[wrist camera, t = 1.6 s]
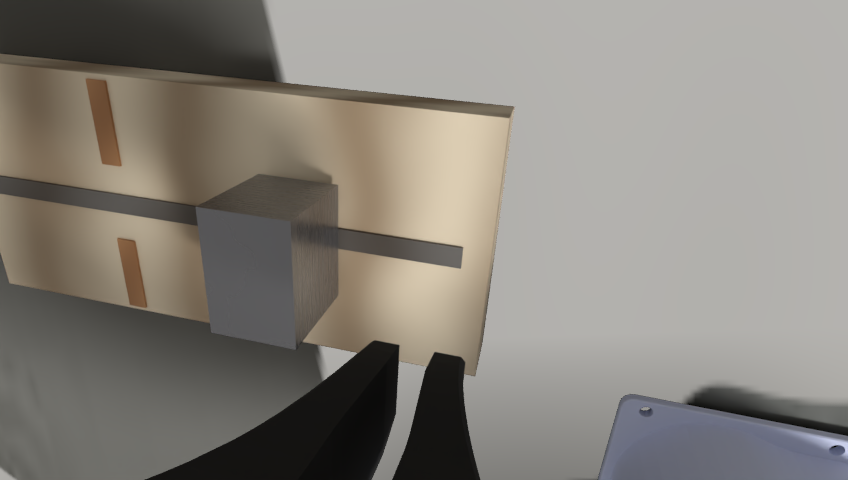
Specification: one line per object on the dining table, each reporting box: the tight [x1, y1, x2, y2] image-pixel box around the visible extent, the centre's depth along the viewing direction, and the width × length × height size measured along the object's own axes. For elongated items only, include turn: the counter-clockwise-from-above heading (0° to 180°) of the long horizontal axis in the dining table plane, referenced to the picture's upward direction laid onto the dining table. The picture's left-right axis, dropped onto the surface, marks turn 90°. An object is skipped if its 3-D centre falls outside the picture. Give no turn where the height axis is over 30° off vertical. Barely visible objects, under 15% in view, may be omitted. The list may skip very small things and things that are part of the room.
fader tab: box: [195, 174, 338, 350], centre depth 17 cm, size 3×4×4 cm
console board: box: [0, 54, 514, 376], centre depth 21 cm, size 22×10×2 cm, turn 86°
